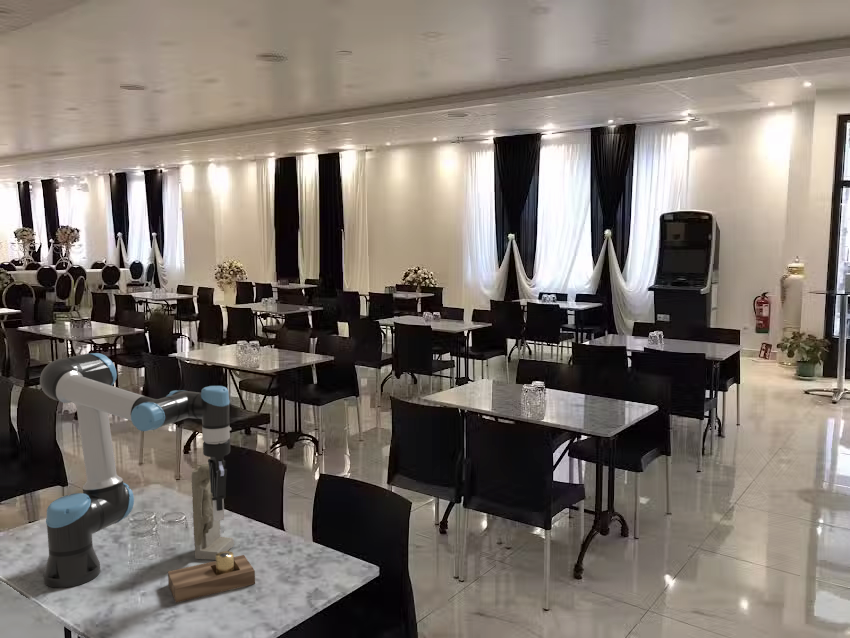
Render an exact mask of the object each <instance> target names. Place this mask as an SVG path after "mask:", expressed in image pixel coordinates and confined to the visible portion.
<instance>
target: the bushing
mask: <svg viewBox="0 0 850 638" xmlns="http://www.w3.org/2000/svg"><path fill="white" fill-rule="evenodd" d="M234 557H235V555H234V552H233V551H229V550H228V551H224V552H220V553H218V554H216V560H215V561H216V575H220V574H225V573H229V572H233V571H234Z"/></svg>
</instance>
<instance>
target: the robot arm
mask: <svg viewBox="0 0 850 638" xmlns="http://www.w3.org/2000/svg"><path fill="white" fill-rule="evenodd" d="M117 376H118V375H117V369H116V366H115V365H114V363H113V361H112V360H111V359H110V358H109V357H108V356H107V355H105V354H102V353H99V352H95V353H94V352H93V353H83V354H79V355H75V356H74V355H73V356H70V357H65V358H57V359H55V360H52V361H51V362H49V363H48V364H47V365H46V366H44V368H43V370H42V371H41V373H40V378H39V386H40V387H41V390H42V392H43V393H44V394H45V395H46V396H47V397H49V398H50V399H53V400H54V401H58V402H59V403H63V404H70V403H72V404H74V405H75V406H76V412H77V413H76V414H77V420H78V421H77V422H78V426H79V433H80V442H81V449H82V455H83V462H84V469H85V476H86V482H84V484H83V485H82V492H78V493H77V492H75V493H70V494H68V495H63V496H61V497H58V498H56V499H55V500H54V501H52V502H50V504H49V505H48V507H47V509H46V518H45V523H46V529H47V531H46V532H47V544H48V546H47V547H48V557H47V561H46V565H45V567H44V571H43V583H44V585H45V586H47V587H50V588H54V589H55V588H57V589H58V588H59V589H62V588H71V587H75V586H79V585H82V584H85V583H88V582H90V581H92V580H94V579H95V578H96V577H98V576H99V575H100V573H101V563H100V559H99V558H98V555H97V553H96V551H95V549H94V546H93V534H95V533H96V532H100V531H102V530H104V529H105V528H107V527H109V526H112V525H115V524H118V523H119V522H121V521H122V520H123V519H125V518H127V517H128V516H130V514H131V512H132V510H133V508H134V504H135V497H134V492H133V490H132V489H131V488H130V486H129V485H128V484H127V483H125V482H124V478H123V477H121V476H119V475H118V473H117V466H116V460H115V452H114V445H113V437H112V431H111V425H110V424H111V422H110V418H109V415H112V416H115V417H118V418H122V419H124V420H128V421H130V422H132V425H133V426H134V427H135V428H136V429H137V430H138V431H140V432H148V431H154V430H157V429H159V428H162V427H165V426H167V425H170V424H173V423H174V424H175V423H176V422H179V421H182V420H186V419H197V420H201V423H202V425H201V427H202V429H201V430H202V431H201V432H202V435H201V436H202V441H203V443H202V454H203V455H204V456H205V457H208V459H207V462H208V463H207V464H208V465H209V473H210V485H211V493H212V496H213V497H214V498H212V501H213V519H214V521H220V522H221V521H224V520H225V503H224V499H226V497H227V496H226V493H227V491H226V490H227V488H226V487H227V475H228V474H227V473H228V469H227V468H226V465H227V464H226V460H224V459H225V458H224V457H225V456H228V455H229V454H230V453H231V440H230V439H231V437H230V436H231V434H230V433H231V432H230V431H232V427H230V425H231V424H230V403H231V402H230V395H229V389H228V388H227V387H226V386H223V385H209V386H205V387H203V388H202V389H201V392H198V391H197V392H196V391H190V390H189V391H188V390H185V389H182V390H180V389H179V390H177V389H176V390H171V391H170V392H169V394H166V396H163V397H161V398H152V397H149V396H145V395H143V394H140V393H136V392H133V391H131V390H127V389H124V388H121V387H116V386H114V385H115V381H116V380H117V378H118V377H117Z"/></svg>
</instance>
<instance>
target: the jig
mask: <svg viewBox="0 0 850 638" xmlns="http://www.w3.org/2000/svg"><path fill="white" fill-rule="evenodd" d="M251 564H252V563H250V562H249V560H248V559H247V557H246V556H245V555H244V554H241V555H237V556H234V571H233V572H229V573H225V574H220V575H216V560H214V561H209V562H205V563H201V564H195V565H192V566H191V565H190V566H186V567H182V568H179V569H173V570H169V571H167V579H168V580H167V581H168V584H167V585H168V586H169V587H168V588H169V589H170V592H171V595H172V597H173V601H175V603H176V604H177V603H182V602H185V601H190V600H194V599H198V598H203V597H207V596H210V595H215V594H218V593H223V592H227V591H231V590H235V589H239V588H242V587H243V588H244V587H247V586H251V585H255V584H256V573H255V572H256V570H255V569H254V568H253V566H252V565H251Z"/></svg>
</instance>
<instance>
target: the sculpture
mask: <svg viewBox="0 0 850 638" xmlns="http://www.w3.org/2000/svg"><path fill="white" fill-rule="evenodd" d="M191 493H192V495H191V496H192V518H193V519H192V520H193V521H192V522H193V539H194V540H193V541H194V544H193V545H194V559H196V560H208V561H209V560H211V561H212V560H214V561H216V554H218V553H220V552H224V551H229V550H231V549H232V548H233V547H234V546H235V541H234V538H233V537H227V536H226V537H225V536H221V520H220V521H214V519H213V501H212V498H214V497H213V496H212V493H211V485H210V473H209V464H208V463H207V464H206V463H204V464H202V465H200V466H199V467H198V469H196V470H193V471H191Z"/></svg>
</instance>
